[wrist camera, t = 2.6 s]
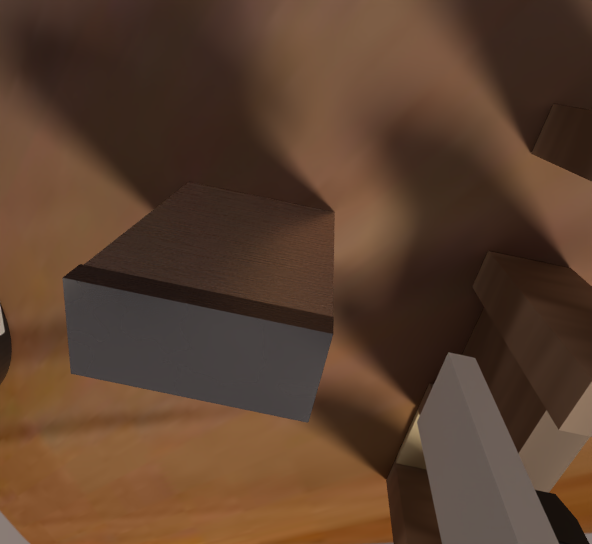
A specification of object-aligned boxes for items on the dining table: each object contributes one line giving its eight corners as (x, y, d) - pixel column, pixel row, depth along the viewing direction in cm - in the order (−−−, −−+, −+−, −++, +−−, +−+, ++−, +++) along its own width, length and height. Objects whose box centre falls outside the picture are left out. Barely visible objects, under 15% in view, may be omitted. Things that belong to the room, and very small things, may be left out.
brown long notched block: (386, 480, 27) (406, 653, 19) (553, 103, 16) (756, 140, 8) (445, 492, 27) (490, 670, 19) (650, 124, 16) (944, 180, 9)
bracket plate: (185, 241, 21) (70, 373, 12) (188, 179, 19) (62, 277, 10) (320, 269, 21) (308, 422, 12) (335, 210, 19) (333, 333, 10)
